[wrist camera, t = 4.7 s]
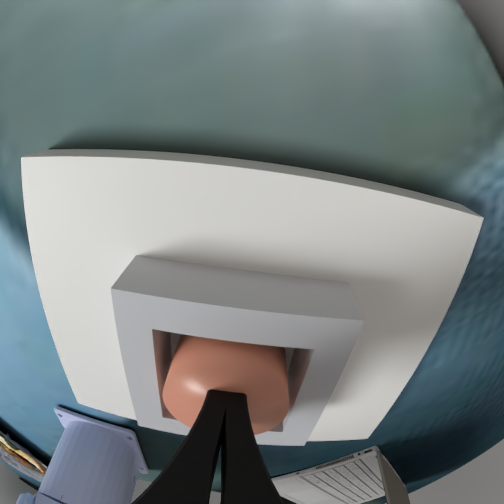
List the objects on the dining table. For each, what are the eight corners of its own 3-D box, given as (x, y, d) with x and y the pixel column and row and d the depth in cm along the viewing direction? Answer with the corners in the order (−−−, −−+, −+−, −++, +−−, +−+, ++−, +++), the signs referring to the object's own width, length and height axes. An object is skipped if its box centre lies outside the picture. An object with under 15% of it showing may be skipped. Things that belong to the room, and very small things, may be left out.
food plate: (-53, 399, 28) (-61, 411, 25) (-46, 371, 22) (-57, 388, 19) (41, 476, 37) (37, 489, 34) (89, 477, 31) (84, 495, 28)
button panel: (362, 417, 19) (374, 467, 15) (88, 383, 18) (65, 430, 14) (460, 203, 12) (518, 241, 8) (46, 149, 12) (-19, 171, 7)
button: (274, 392, 14) (276, 441, 12) (179, 380, 14) (167, 428, 11) (295, 318, 12) (302, 372, 10) (177, 303, 12) (157, 354, 9)
